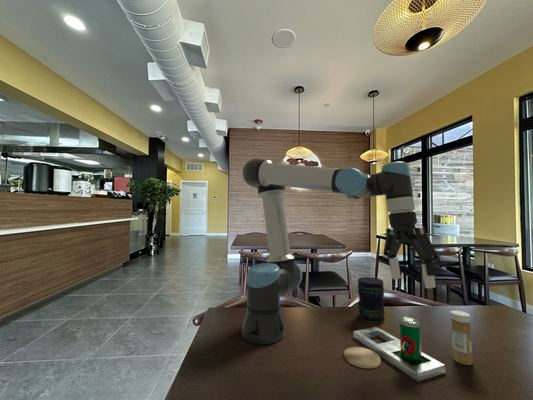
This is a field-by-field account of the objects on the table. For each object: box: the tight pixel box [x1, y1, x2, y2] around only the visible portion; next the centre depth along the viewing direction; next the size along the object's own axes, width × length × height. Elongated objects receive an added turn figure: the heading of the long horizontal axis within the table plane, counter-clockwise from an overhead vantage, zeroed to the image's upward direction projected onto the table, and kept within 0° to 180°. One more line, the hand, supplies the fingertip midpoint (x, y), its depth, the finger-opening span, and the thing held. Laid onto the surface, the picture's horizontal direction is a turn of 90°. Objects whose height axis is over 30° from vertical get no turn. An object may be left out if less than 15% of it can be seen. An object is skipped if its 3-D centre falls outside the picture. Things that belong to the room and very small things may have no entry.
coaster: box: [343, 346, 382, 370], centre depth 72 cm, size 10×10×1 cm
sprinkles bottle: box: [450, 309, 474, 366], centre depth 71 cm, size 5×5×13 cm
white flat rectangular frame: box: [352, 326, 446, 382], centre depth 75 cm, size 24×10×2 cm, turn 20°
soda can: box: [399, 316, 423, 366], centre depth 70 cm, size 5×5×12 cm
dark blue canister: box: [357, 276, 385, 324], centre depth 101 cm, size 10×10×15 cm
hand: (411, 282), depth 74 cm, fingers open, 13 cm apart
